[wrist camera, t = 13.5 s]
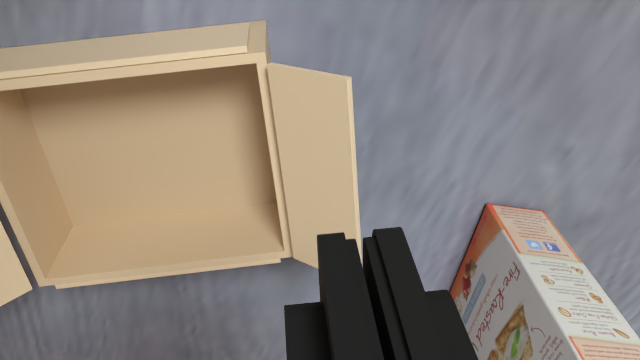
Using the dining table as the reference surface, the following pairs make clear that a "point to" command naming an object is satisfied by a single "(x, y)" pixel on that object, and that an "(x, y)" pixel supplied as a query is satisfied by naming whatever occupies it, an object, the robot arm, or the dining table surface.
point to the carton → (142, 155)
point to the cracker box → (535, 295)
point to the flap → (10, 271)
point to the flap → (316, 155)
